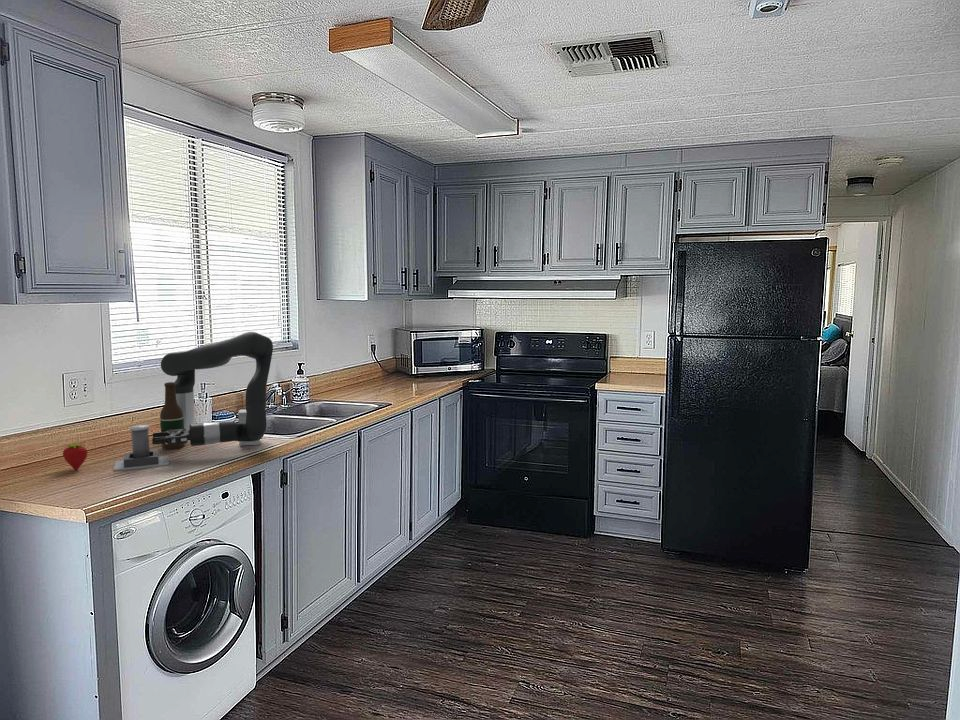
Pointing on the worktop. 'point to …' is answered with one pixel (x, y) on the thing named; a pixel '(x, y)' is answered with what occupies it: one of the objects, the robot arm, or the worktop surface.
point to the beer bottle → (171, 414)
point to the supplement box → (243, 420)
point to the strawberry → (75, 455)
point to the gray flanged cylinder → (140, 441)
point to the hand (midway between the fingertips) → (152, 438)
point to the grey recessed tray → (141, 461)
